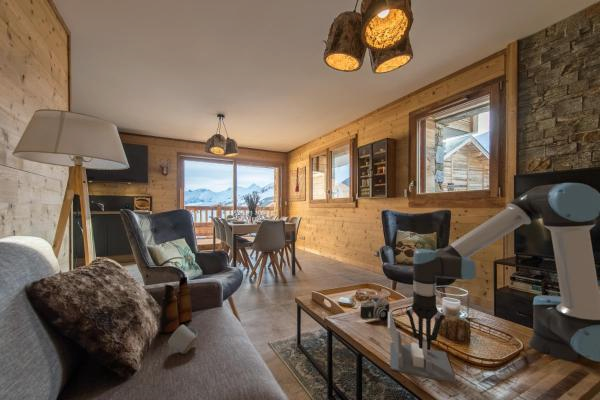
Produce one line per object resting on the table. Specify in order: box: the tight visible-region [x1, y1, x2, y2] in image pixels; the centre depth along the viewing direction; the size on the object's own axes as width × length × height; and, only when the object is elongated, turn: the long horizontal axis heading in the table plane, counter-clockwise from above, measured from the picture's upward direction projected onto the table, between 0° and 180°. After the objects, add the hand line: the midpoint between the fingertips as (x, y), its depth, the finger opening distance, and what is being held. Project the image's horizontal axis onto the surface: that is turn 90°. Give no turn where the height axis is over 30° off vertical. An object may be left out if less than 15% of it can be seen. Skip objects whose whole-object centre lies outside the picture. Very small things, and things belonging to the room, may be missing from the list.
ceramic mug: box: [167, 324, 198, 355], centre depth 100 cm, size 11×8×8 cm
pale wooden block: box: [410, 342, 424, 368], centre depth 94 cm, size 3×9×3 cm, turn 161°
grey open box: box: [389, 330, 457, 384], centre depth 94 cm, size 20×17×6 cm
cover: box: [387, 310, 399, 354], centre depth 97 cm, size 9×14×1 cm
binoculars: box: [158, 276, 193, 334], centre depth 122 cm, size 18×8×20 cm, turn 169°
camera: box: [360, 297, 390, 322], centre depth 128 cm, size 16×9×10 cm, turn 105°
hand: (424, 357), depth 93 cm, fingers closed
